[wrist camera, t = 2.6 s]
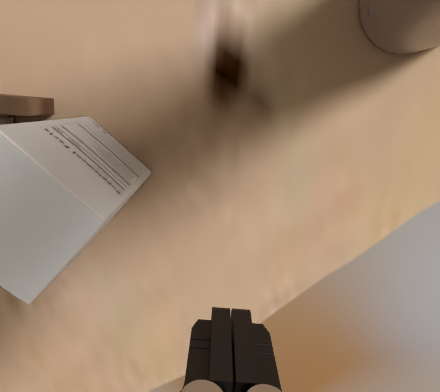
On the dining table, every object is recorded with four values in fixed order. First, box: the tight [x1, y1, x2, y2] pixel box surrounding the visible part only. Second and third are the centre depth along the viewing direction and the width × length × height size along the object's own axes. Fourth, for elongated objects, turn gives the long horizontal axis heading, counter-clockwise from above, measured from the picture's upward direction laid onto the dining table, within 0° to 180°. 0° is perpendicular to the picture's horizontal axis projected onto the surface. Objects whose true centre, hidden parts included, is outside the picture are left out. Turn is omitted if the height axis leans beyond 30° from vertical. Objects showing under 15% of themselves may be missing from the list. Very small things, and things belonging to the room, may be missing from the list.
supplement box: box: [0, 116, 151, 304], centre depth 28 cm, size 9×9×15 cm
